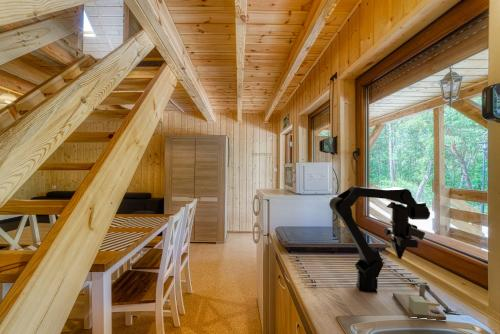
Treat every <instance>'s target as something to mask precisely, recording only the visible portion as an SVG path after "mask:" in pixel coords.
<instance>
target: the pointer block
mask: <svg viewBox="0 0 500 334" xmlns="http://www.w3.org/2000/svg"><path fill="white" fill-rule="evenodd" d="M410 295H411V294H410ZM410 295H409V308H410V310H411V311H412V312H413V313H414V314H420V315H428V305H429V306H436V307H441V306H440V305H441V304H440V303H439V302H434V301H431V302H427V301H426V300H425V299H424V298H423V297H421V296H410Z"/></svg>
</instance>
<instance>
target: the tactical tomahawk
mask: <svg viewBox="0 0 500 334" xmlns="http://www.w3.org/2000/svg"><path fill="white" fill-rule="evenodd" d="M424 284H425V283H424ZM425 291H426V292H427V293H428V294H430V295H431V297H433V298H434V300H436V301H437V303H439V304H440V305H441V306H442V308H444V309H443V310H442V313H443V314H447V315H448V314H449V315H453V316H454V315H455V316H461V314H459V313H457V312H456V311H454V310H452V308H449V306H448V305H447V304H445V302H444V301H443V300H442V299H441V298H440V297H439V296H438V295H437V294H436V293H435V292H433V291H432V289H431V287H430V286H429V285H428V284H425Z"/></svg>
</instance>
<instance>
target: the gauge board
mask: <svg viewBox="0 0 500 334" xmlns="http://www.w3.org/2000/svg"><path fill="white" fill-rule="evenodd" d="M418 288H419V289H418V290H419V292H418V293H419V295H418V294H409V293H396V292H393V293H392V298H393V299H394V300H395V302H396V303H397V305H398V306H399V307H400V309H401V310H402V312H403V313H404V314H405V315H406V317H407V316H408V317H417V318H427V319H436V320H446V321H447V316H446V315H445V313H444V312H443V311H441V310H440V309H439V308H438V306H429V305H428V315H420V314H414V313H413V312H412V311H411V310H410V308H409V295H410V296H421V297H423V298H424V299H425V300H426V301H427V302H432V301H431V299H429V298H428V297H427V296H426V294H425V291H426V289H425V283H422V282H421V283H419V286H418ZM408 317H407V318H408Z"/></svg>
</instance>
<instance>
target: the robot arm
mask: <svg viewBox="0 0 500 334" xmlns="http://www.w3.org/2000/svg"><path fill="white" fill-rule="evenodd" d="M361 197H362V198H372V199H384V200H388V201H391V202H390V203H388V204H387V205H386V207H387V208H389V209H391V211H392V212H391V214H392V215H391V220H390V222H389V224H391V227H386V228H385V229H384V230H383V231H384V232H383V233H384V236H387V237H388V236H389V235H390V237H389V238H388V240H389V241H390V244H391V245H392V248H393V250H394V252H395V255H396V257H397V259H398V260H399V259H400V260H401V259H402V258H403V255H404V253H405V250H406V248H413V249H414V248H415V249H418V248H419V247H420V246H419V241H418V240H417V239H419V240H420V241H423V239H424V237H425V235H426V232H425V231H423V230H421V229H419V228H418V226H417V225H415V224H413V223H412V224H411V223H410V222H409V220H413V221H414V220H420V221H421V220H425V221H426V220H429V218H430V216H431V212H430V209H429V208H428V206H427V203H426V202H424V201H420V202H417V201H416V200H415V198H414V197H413V194H412V192H411V190H410V189H408V188H402V187H389V188H374V187H364V186H356V185H351V186H350V187H349V188H348V189H346V190H344V191H343V192H342V193H340V194H338V195H337V196H335V197H333V198H331V199H330V201H329V203H328V204H329V205H328V206H329V208H330V210H331V211H332V212H333V213H334V214H335V215H336V216H337V217H338V218H339V219H340V220H341V222H342V224H343V225H344V227H345V229H346V230H347V232H348V234H349V236H350V238H351V240H352V241H353V243H354V245H355V246H356V248H357V250H358V256H359V260H358V261H356V263H355V264H354V266H355V269H356V271H357V282H356V283H355V284H356V287H357V289H358V290H359V292H364V293H375V294H378V287H379V286H378V283H379V282H378V281H379V280H378V278H379V275H380V273H381V270H382V269H383V267H384V262H383V261H384V259H383V258H382V257H381V255H380V252H379V251H378V250H377V249H375V248H374V247H372V246H370V245H369V243H368V242H367V240H366V238H365V237H364V235H363V233H362V231H361V230H360V228H359V226H358V224H357V222H356V220H355V219H354V217H353V210H352V207H353V206H354V205H355V204H356V202H357V200H358V199H359V198H361ZM414 237H415V238H417V239H415V238H414Z"/></svg>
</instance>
